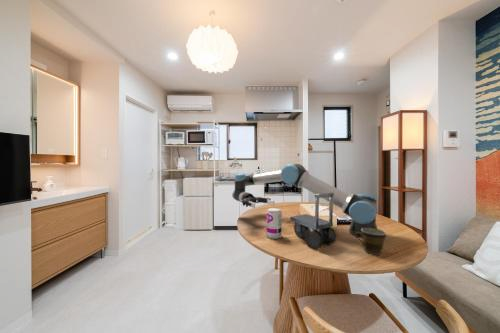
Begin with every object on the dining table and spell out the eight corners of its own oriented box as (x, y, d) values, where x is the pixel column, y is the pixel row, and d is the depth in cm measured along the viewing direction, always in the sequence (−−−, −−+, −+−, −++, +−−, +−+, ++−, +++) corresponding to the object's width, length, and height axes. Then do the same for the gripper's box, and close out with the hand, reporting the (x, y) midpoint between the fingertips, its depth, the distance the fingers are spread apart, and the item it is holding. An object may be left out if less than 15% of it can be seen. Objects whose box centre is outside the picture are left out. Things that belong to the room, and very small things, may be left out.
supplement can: (270, 240, 113) (271, 211, 112) (263, 234, 120) (264, 208, 120) (284, 238, 116) (284, 210, 115) (276, 233, 123) (276, 207, 123)
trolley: (287, 236, 118) (288, 188, 117) (303, 232, 124) (304, 187, 123) (318, 251, 99) (319, 195, 98) (335, 246, 105) (337, 193, 104)
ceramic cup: (378, 248, 104) (379, 228, 103) (389, 258, 94) (390, 235, 93) (350, 247, 105) (351, 227, 105) (359, 256, 95) (359, 234, 95)
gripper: (261, 202, 150) (281, 208, 132) (229, 205, 137) (245, 213, 119) (262, 191, 150) (281, 196, 131) (229, 193, 137) (246, 199, 119)
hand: (264, 204), depth 125 cm, fingers open, 13 cm apart
